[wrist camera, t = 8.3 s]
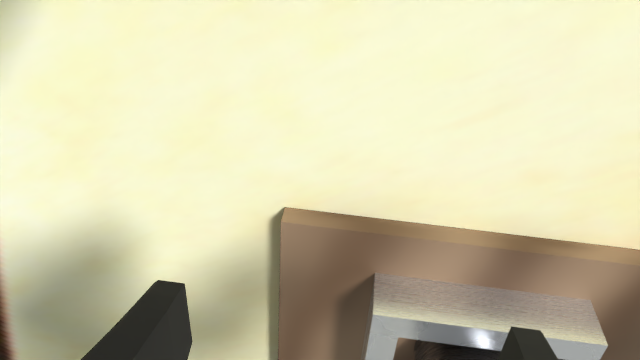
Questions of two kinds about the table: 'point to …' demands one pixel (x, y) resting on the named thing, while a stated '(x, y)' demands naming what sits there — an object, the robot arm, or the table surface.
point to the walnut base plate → (434, 277)
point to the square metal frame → (475, 317)
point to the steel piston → (451, 352)
